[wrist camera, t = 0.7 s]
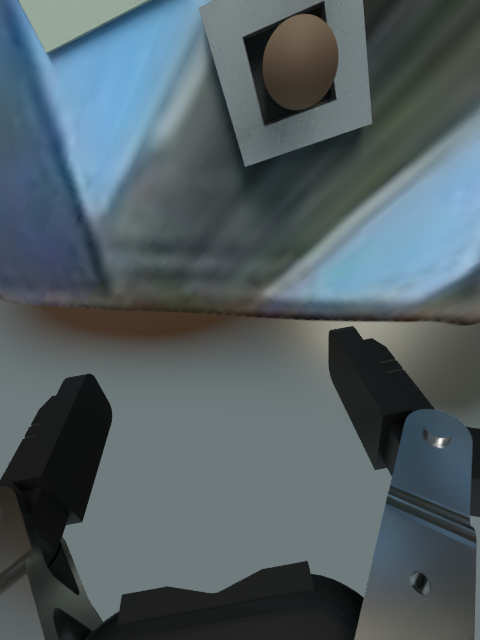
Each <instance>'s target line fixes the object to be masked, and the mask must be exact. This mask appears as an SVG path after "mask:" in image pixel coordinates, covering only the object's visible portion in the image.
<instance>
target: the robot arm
mask: <svg viewBox="0 0 480 640" xmlns="http://www.w3.org/2000/svg"><path fill="white" fill-rule="evenodd" d="M329 371H330V376H331V379H332V382H333V384H334V386H335V388H336V390H337V392H338V394H339V396H340V399H341V401H342V403H343V405H344V407H345V409H346V411H347V413H348V415H349V417H350V419H351V421H352V423H353V425H354V427H355V430H356V432H357V434H358V436H359V438H360V440H361V442H362V444H363V446H364V448H365V450H366V452H367V454H368V457H369V458H370V461H371V463H372V465H373V467H374V469H375V470H378V469H383V468H388V470H389V472H390V474H391V476H392V480H391V484H390V489H389V492H388V496H387V501H386V505H385V509H384V513H383V517H382V522H381V526H380V531H379V535H378V539H377V543H376V548H375V552H374V556H373V561H372V565H371V570H370V574H369V578H368V582H367V587H366V591H365V596H364V598H363V597H362V596H361V595H360V594H358V593H357V592H355V591H354V590H352V589H351V588H349V587H348V586H346V585H344V584H342V583H340V582H338V581H336V580H333V579H331V578H327V577H324V576H321V575H315V574H310V569H309V565H308V562H307V561H305V562H299V563H294V564H289V565H283V566H278V567H272V568H267V569H262V570H260V571H258V572H256V573H254V574H252V575H250V576H249V577H247V578H245V579H243V580H241V581H239V582H237V583H235V584H234V585H232V586H230V587H228V588H226V589H224V590H222V591H220V592H218V593H213V594H212V593H205V592H198V591H192V590H186V589H180V588H174V587H162V588H157V589H151V590H146V591H141V592H135V593H129V594H124V595H122V598H121V604H120V611H119V612H117V613H115V614H114V615H113V616H111V617H110V618H108V619H107V620H105V621H104V622H103V621H102V619H101V617H100V616H99V614H98V612H97V611H96V610H95V608H94V607H93V605H92V604H91V602H90V600H89V598H88V596H87V594H86V592H85V589H84V586H83V584H82V581H81V579H80V577H79V574H78V571H77V569H76V566H75V564H74V561H73V559H72V556H71V554H70V551H69V548H68V546H67V544H66V541H65V540H64V538H63V537H62V535H63V532H64V529H65V526H66V525H69V524H74V523H80V522H82V521H83V518H84V514H85V511H86V507H87V504H88V501H89V497H90V494H91V491H92V487H93V484H94V480H95V477H96V473H97V470H98V467H99V463H100V460H101V457H102V453H103V449H104V446H105V443H106V439H107V436H108V432H109V429H110V426H111V422H112V409H111V406H110V404H109V402H108V400H107V398H106V396H105V394H104V393H103V391H102V389H101V387H100V386H99V384H98V382H97V380H96V379H95V377H94V376H93V375H92V374H86V375H80V376H74V377H69V378H66V379H65V380H64V381H63V383H62V385H61V387H60V389H59V391H58V393H57V395H56V396H52V397H51V398H50V399H49V400H48V401H47V402H46V403H45V404H44V405H43V406H42V407H41V408H40V409H39V411H38V413H37V415H36V416H35V418H34V420H33V422H32V424H31V425H32V426H31V427H29V429H28V431H27V433H26V435H25V439H23V440H22V442H21V443H20V445H19V447H18V449H17V451H16V453H15V454H14V456H13V458H12V460H11V462H10V463H9V465H8V467H7V469H6V471H5V473H4V474H3V476H2V478H1V480H0V640H474V633H475V631H474V630H475V591H476V590H475V589H476V549H477V546H476V545H477V544H476V533H475V529H474V528H473V527H471V526H470V515H471V516H477V517H480V429H477V428H470V427H466V426H465V425H463V423H462V422H460V421H459V420H458V419H456V418H455V417H453V416H451V415H449V414H447V413H445V412H442V411H439V410H435V409H434V407H433V406H432V405H431V404H430V403H429V401H428V400H427V399H426V398H425V396H424V395H423V394H422V392H421V391H420V390H419V388H418V387H417V386H416V385H415V383H414V382H413V381H412V379H411V378H410V377H409V376H408V374H407V373H406V372H405V371H403V369H402V367H401V365H400V364H399V363H398V362H397V361H395V358H394V357H393V355H392V354H391V353H390V351H389V350H388V349H387V348H386V347H385V346H384V345H382V344H380V343H379V342H377V341H376V340H374V339H372V338H371V339H366V340H363V339H362V337H361V336H360V334H359V333H358V332H357V330H356V329H355V328H354V327H353V326H351V327H345V328H340V329H334V330H330V331H329Z"/></svg>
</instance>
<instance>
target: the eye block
mask: <svg viewBox="0 0 480 640" xmlns="http://www.w3.org/2000/svg"><path fill="white" fill-rule="evenodd" d="M319 7H320V12H321V19H322V20H323V21H324V22H326V23H327V25H328V26H329V27H330V28H331V30H332V32H333V34H334V36H335V38H336V42H337V46H338V55H339V58H338V68H337V72H336V76H335V78H334V81H333V83H332V85H331V87H330V88H331V95H332V99H329V100H327V101H324V102H321V103H318V104H316V105H313V106H311V107H309V108H306V109H302V110H300V111H297V112H294V113H291V114H289V115H286V116H283V117H281V118H278V119H275V120H273V121H270V122H267V123H265V122H264V118H263V114H262V110H261V106H260V102H259V98H258V93H257V89H256V85H255V81H254V77H253V73H252V69H251V65H250V60H249V56H248V52H247V48H246V44H245V40H247V39H249V38H251V37H253V36H256V35H258V34H260V33H262V32H265V31H267V30H269V29H271V28H274V27H276V26H278V25H280V24H281V23H283V22H284V21H285V20H287V19H289V18H290V17H293V16H295V15H300V14H305V13H307V12H310V11H312V10H314V9H316V8H319ZM199 11H200V14H201V17H202V21H203V24H204V28H205V31H206V35H207V38H208V41H209V45H210V48H211V52H212V55H213V59H214V62H215V65H216V69H217V72H218V76H219V79H220V83H221V86H222V89H223V93H224V96H225V100H226V103H227V107H228V110H229V113H230V117H231V120H232V124H233V127H234V131H235V134H236V137H237V141H238V144H239V148H240V151H241V155H242V158H243V161H244V165H245V167H246V166H249V165H252V164H255V163H258V162H261V161H264V160H267V159H270V158H273V157H275V156H278V155H281V154H284V153H287V152H290V151H293V150H296V149H299V148H302V147H305V146H308V145H311V144H314V143H317V142H319V141H322V140H325V139H328V138H331V137H334V136H337V135H340V134H343V133H346V132H349V131H352V130H355V129H358V128H361V127H363V126H366V125H369V124H372V117H371V103H370V90H369V76H368V63H367V49H366V36H365V23H364V9H363V0H214V1H212V2H210V3H208V4H206V5H204V6H202V7H200V8H199Z"/></svg>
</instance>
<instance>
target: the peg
mask: <svg viewBox="0 0 480 640" xmlns="http://www.w3.org/2000/svg"><path fill="white" fill-rule="evenodd" d="M338 58H339V55H338V46H337V42H336V38H335V36H334V34H333V32H332V30H331V28H330V27H329V26H328V25H327V23H326V22H324V21H323V20H322V19H320V18H319V17H317V16H314V15H310V14H300V15H295V16H293V17H290V18H289V19H287V20H285V21H284V22H283V23H281V24H280V25H279V26H278V27H277V29H276V30H275V31H274V32H273V34H272V35H271V37H270V39H269V41H268V43H267V46H266V48H265V52H264V56H263V67H262V69H263V78H264V83H265V86H266V88H267V91H268V92H269V94H270V96H271V97H272V98H273V100H274V101H275V102H276V103H278V104H279V105H280V106H282V107H284V108H287V109H290V110H302V109H306V108H309V107H311V106H313V105H314V104H316V103H317V102H318V101H320V100H321V99H322V98H323V97H324V96H325V94H326V93H327V92H328V90H329V89H330V87H331V85H332V83H333V81H334V78H335V76H336V72H337V68H338Z"/></svg>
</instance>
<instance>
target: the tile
mask: <svg viewBox="0 0 480 640" xmlns="http://www.w3.org/2000/svg"><path fill="white" fill-rule="evenodd" d="M150 1H152V0H19V2H20V4H21V6H22V8H23V10H24V11H25V13H26V15H27V17H28V19H29V21H30V23H31V25H32V27H33V29H34V31H35V32H36V34H37V36H38V38H39V40H40V42H41V44H42V46H43V48H44V50H45V52H46V53H52V52H54V51H56V50H58V49H60V48H61V47H63V46H65V45H67V44H69V43H71V42H73V41H75V40H77V39H79V38H81V37H83V36H85V35H87V34H89V33H91V32H92V31H94V30H96V29H98V28H100V27H102V26H104V25H106V24H108V23H110V22H112V21H114V20H116V19H118V18H120V17H121V16H123V15H125V14H127V13H129V12H131V11H133V10H135V9H137V8H139V7H141V6H143V5H145V4H147V3H149V2H150Z"/></svg>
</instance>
